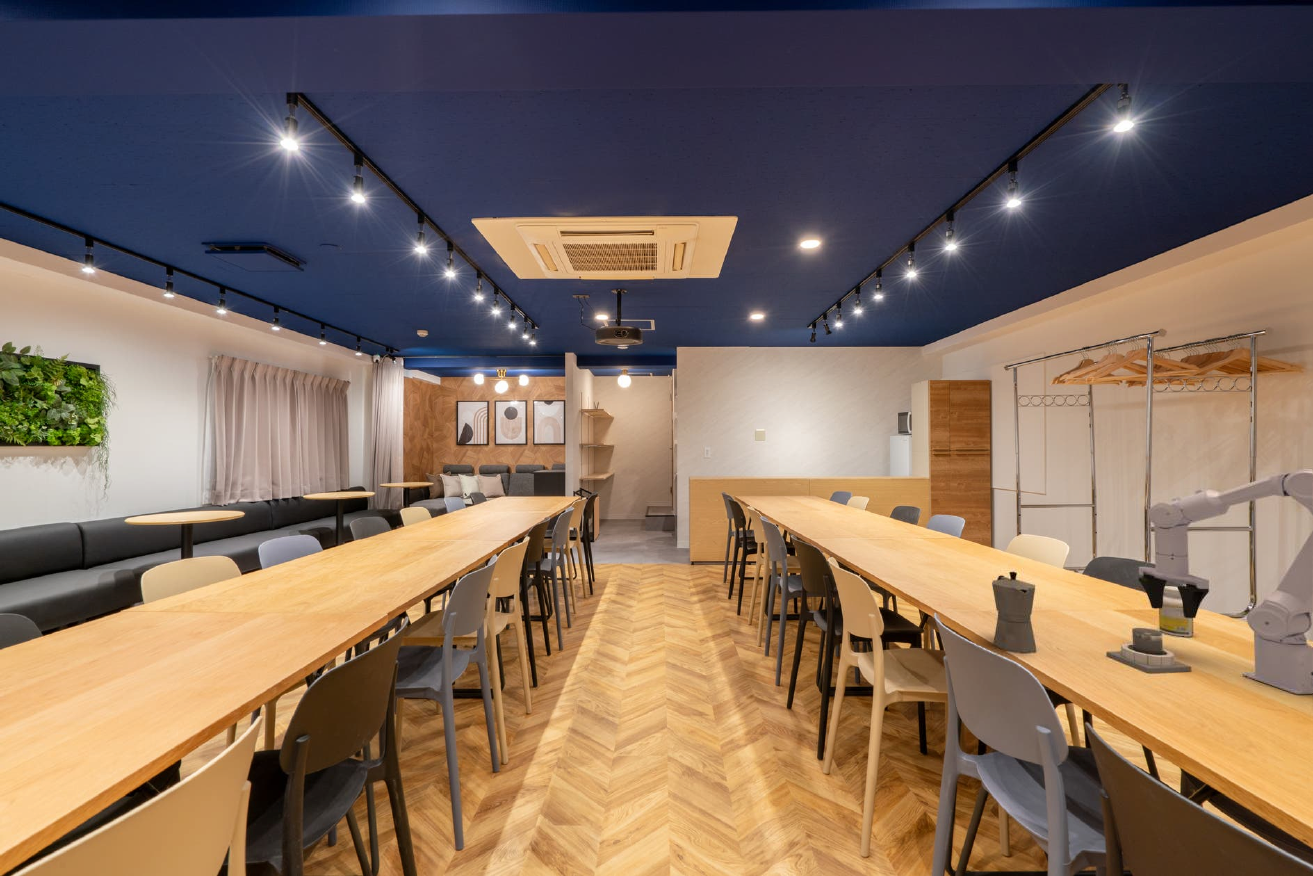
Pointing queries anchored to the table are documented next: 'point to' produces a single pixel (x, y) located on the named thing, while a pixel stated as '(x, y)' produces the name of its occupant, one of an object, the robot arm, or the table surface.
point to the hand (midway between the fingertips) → (1172, 612)
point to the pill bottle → (1174, 614)
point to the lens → (1147, 641)
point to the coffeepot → (1014, 614)
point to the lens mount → (1148, 660)
